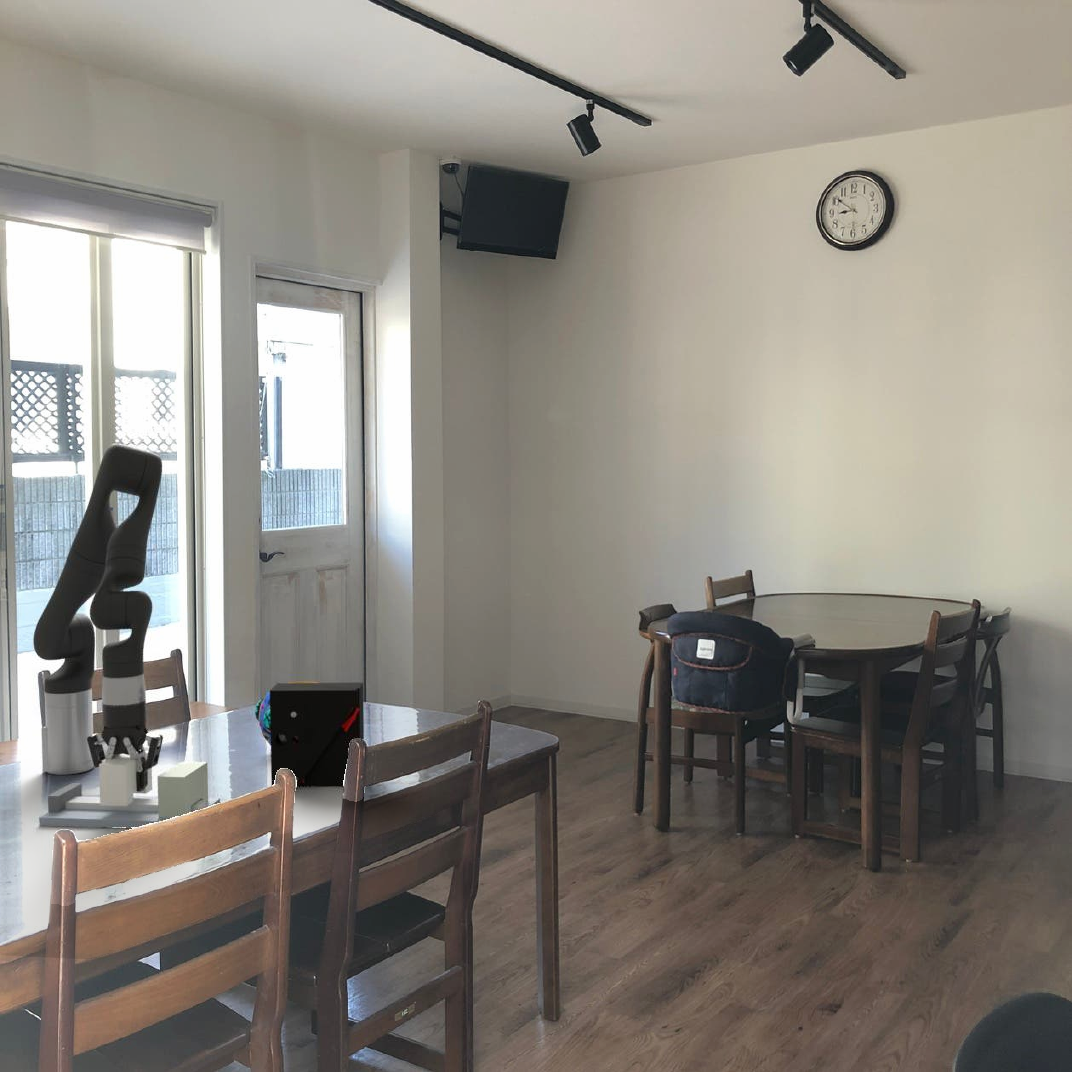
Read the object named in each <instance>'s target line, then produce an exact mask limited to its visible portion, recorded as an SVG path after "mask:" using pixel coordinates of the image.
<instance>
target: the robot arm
mask: <svg viewBox="0 0 1072 1072" xmlns="http://www.w3.org/2000/svg"><path fill="white" fill-rule="evenodd" d="M102 456H103V457H102V459H101V462H100V464H99V468H98V471H97V475H96V476H95V481H94V484H93V487H92V491H91V493H90V497H89V501H88V503H87V504H88V505H87V507H86V510H85V512H84V515H83V517H82V520H81V523H80V524H79V528H78V529H77V532H76V534H75V536H74V539H73V541H72V543H71V547H70V549H69V551H68V554H67V557H66V560H65V563H64V566H63V568H62V571H61V573H60V576H59V578H58V581H57V583H56V585H55V588H54V590H53V591H52V592H53V593H52V594H51V596H50V598H49V600H48V602H47V604H46V606H45V608H44V610H43V611H42V614H41V615H40V617H39V619H38V621H37V623H36V626H35V629H34V633H33V639H32V642H33V648H34V652H35V654H36V655H37V656H38V657H39V658H40V659H42V660H44V661H58V660H63V659H64V661H63V663H62V664H61V666H60V667H59V668H58V669H57V670H56V671H54V672H52V673H50V674H49V675H48V676H46V678H45V680H44V684H43V685H44V690H43V691H44V710H45V711H44V715H45V725H44V726H42V727H41V730H40V731H41V753H42V755H41V757H42V773H48V774H51V775H59V776H63V775H72V774H73V775H74V774H80V773H84V772H87V771H90V770H92V769H94V768H97V769H98V768H99V764H101V763H103V762H104V761H106V760H108V759H113V758H115V757H117V756H118V755H120V754H126V755H130V758H131V760H135V761H136V770H137V771H138V772H136V785H137V792H141V791H143V790H144V789H145V787H147V785H148V769H150V768H152V769H153V768H154V767H156V766H157V765H158V764H159V759H160V754H161V749H162V745H163V739H164V736H163V734H160V733H159V734H157V735H155V734H152V733H149V731H148V729H147V699H146V698H147V696H146V695H147V694H146V681H145V674H144V673H145V671H144V648H145V640H146V636H147V633H148V628H149V624H150V622H151V621H150V620H151V617H152V612H153V601H152V599H151V597H150V596H149V594H148V593H147V592H146V591H142V590H126V589H130V588H134V587H136V586H138V585H140V584H141V583H143V581H144V579H145V574H146V561H147V547H148V541H149V540H148V539H149V536H150V529H151V525H152V521H153V518H154V515H155V514H154V513H155V508H156V504H157V501H158V497H159V493H160V492H159V491H160V487H161V482H162V475H163V461H162V458H161V456H160V455H159V454H157V453H154V452H152V451H147V450H144V449H142V448H137V447H133V446H130V445H125V444H121V443H112V444H110V445H109V446H108V447H107V449H106V450H105V452H104V454H103V455H102ZM114 491H115V492H119V493H124V494H127V495H130V496H131V495H132V496H134V497H135V496H136V497H138V503H137V505H136V506H135V508H134V510H133V511H132V512H131V513H130V515H128V516H127V518H125V519H124V520H123V521H122V522H121V523H120V524H119V525H118V526H116V523H115V521H114V517H113V514H112V510H111V503H110V499H111V495H112V493H113V492H114ZM92 597H93V598H92ZM91 598H92V601H91V603H90V607H89V616H87V614H85V613H80V612H79V613H78V611H79V609H80V608H82V606H83V605H84V604H85V603H86V602H87V601H88V600H90V599H91ZM95 628H97V629H99V630H102V631H110V630H111V631H112V630H113V631H114V630H131V632H130V635H129V637H127V638H125V639H122V640H119V641H114V642H110V643H107V644H105V645H104V646H103V648H102V651H101V653H102V654H101V655H102V656H101V657H102V659H101V660H102V684H101V709H102V715H101V716H102V725H103V728H102V730H101V731H102V732H99V733H98V732H96V733H94V720H93V719H94V717H93V714H94V713H93V691H92V690H93V689H92V687H93V686H92V683H93V678H94V674H95V661H96V660H95V655H96V654H95V653H96V634H95ZM146 741H147V746H148V747H149V748H148V750H149V751H148V756H147V759H146V756H145V755H146V752H145V747H144V744H145V742H146ZM103 743H105V744H106V745H107V749H106V752H105V751H104V746H103ZM140 758H141V759H140Z"/></svg>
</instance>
